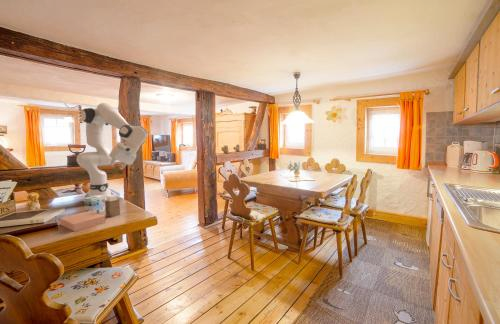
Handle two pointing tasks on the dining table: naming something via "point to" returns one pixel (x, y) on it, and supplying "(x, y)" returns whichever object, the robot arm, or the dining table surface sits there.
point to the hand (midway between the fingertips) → (115, 167)
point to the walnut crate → (112, 208)
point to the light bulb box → (95, 203)
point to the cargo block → (111, 198)
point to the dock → (82, 220)
